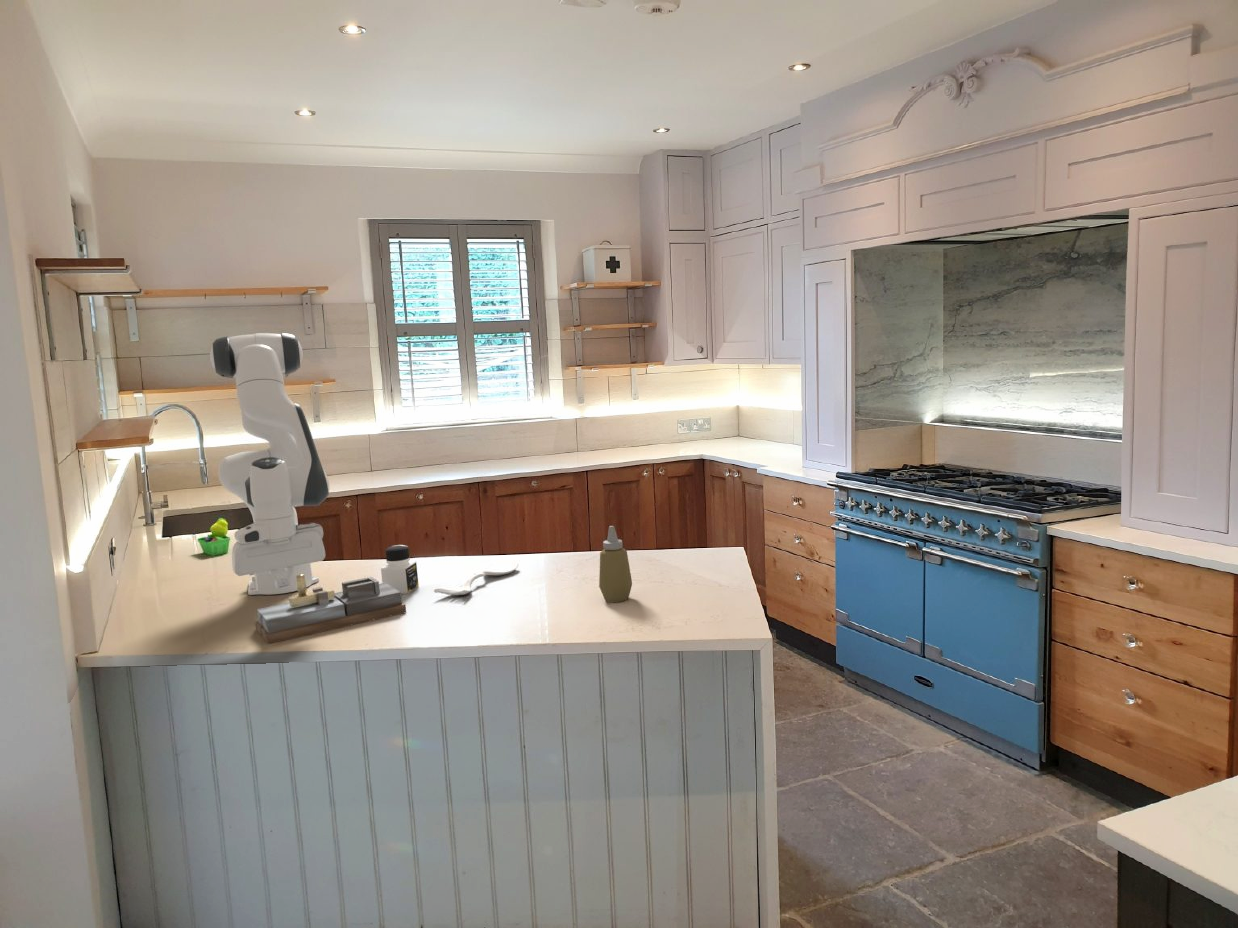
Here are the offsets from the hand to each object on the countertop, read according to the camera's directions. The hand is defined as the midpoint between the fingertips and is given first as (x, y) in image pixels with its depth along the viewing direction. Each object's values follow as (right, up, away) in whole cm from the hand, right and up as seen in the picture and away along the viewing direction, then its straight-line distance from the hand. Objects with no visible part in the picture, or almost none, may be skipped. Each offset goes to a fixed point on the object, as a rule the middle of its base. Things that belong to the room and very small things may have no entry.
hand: (283, 586), depth 208 cm
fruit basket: (-58, -2, +95) cm, 111 cm away
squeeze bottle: (+78, -4, +8) cm, 78 cm away
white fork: (+41, -4, +31) cm, 52 cm away
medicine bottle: (+20, -5, +30) cm, 37 cm away
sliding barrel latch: (+9, -9, +7) cm, 15 cm away
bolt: (+6, -4, +4) cm, 8 cm away
